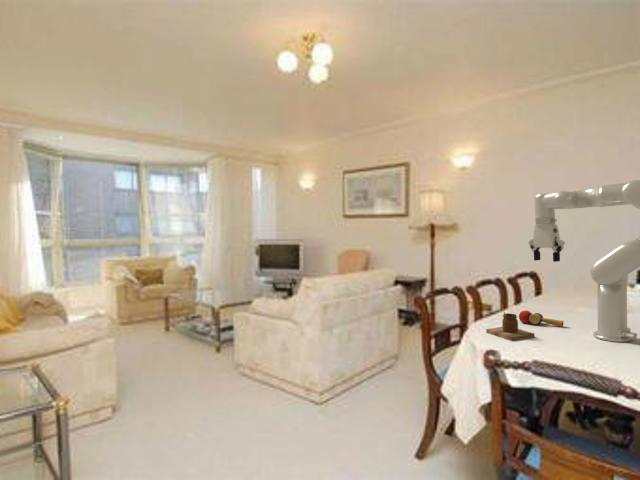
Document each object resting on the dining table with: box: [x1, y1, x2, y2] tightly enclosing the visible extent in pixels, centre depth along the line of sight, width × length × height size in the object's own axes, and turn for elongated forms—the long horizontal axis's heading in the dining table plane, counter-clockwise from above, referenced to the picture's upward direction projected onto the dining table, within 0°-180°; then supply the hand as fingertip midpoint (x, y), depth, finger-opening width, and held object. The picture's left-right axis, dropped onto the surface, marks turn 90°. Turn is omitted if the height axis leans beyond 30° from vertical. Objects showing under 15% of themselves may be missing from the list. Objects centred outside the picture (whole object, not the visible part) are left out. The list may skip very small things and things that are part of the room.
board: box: [485, 326, 535, 342], centre depth 170 cm, size 14×12×2 cm
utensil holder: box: [500, 302, 519, 333], centre depth 170 cm, size 6×6×12 cm
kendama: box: [518, 310, 564, 328], centre depth 184 cm, size 8×6×18 cm
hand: (546, 260), depth 177 cm, fingers open, 9 cm apart
